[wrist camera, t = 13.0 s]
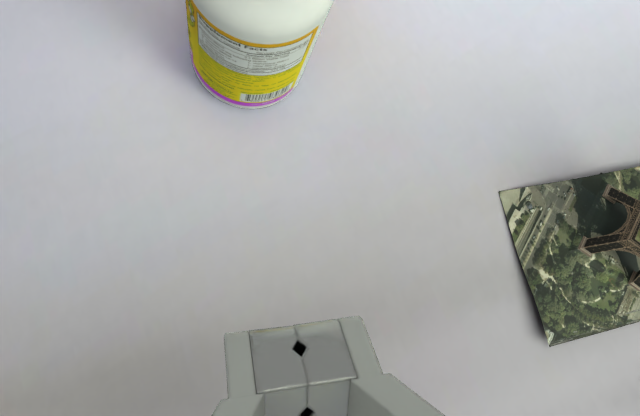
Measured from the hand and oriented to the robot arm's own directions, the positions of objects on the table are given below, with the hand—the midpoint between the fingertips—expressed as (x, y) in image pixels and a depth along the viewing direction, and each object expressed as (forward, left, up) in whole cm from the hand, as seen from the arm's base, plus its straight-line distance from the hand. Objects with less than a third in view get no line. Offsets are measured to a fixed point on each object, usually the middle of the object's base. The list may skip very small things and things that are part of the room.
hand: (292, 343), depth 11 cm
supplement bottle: (+1, +15, -18) cm, 23 cm away
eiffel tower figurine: (+25, +3, -18) cm, 30 cm away
